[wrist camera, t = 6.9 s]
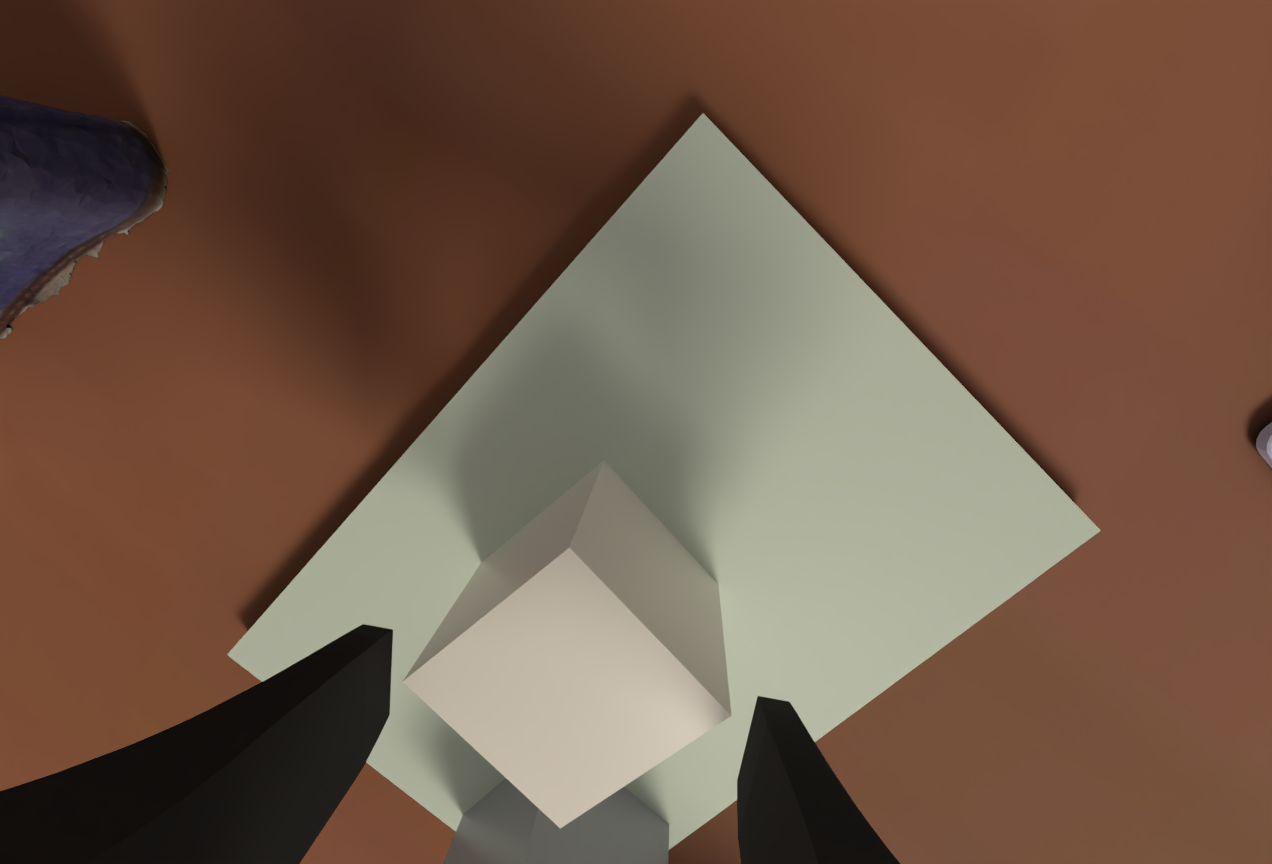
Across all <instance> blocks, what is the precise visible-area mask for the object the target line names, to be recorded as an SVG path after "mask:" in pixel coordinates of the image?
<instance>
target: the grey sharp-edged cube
mask: <svg viewBox="0 0 1272 864" xmlns="http://www.w3.org/2000/svg"><path fill="white" fill-rule="evenodd" d="M668 852H669V824H668V823H667V822H666V821H665V820H664V819H662V818H661V817H660V816H659V815H657V814H656V813H655V812H654V811H653V810H651V809H650V808H649V807H648V806H647V805H645V804H644V803H643V802H642V801H641V800H639V799H638V798H637V797H636V796H634V795H633V794H632V793H631V792H630V791H628V790H627V789H626V788H625V787H623V788H621V789H620V790H618V791H617V792H615V793H613V794H612V795H610V796H609V797H607V798H606V799H604V800H603V801H601V802H600V803H598V804H597V805H595V806H594V807H592V808H591V809H589V810H588V811H586V812H585V813H583V814H582V815H580V816H579V817H577V818H576V819H574V820H573V821H571V822H569V823H568V824H566V825H565V826H563V827H562V828H559V827H558V826H557V825H556V824H555V823H554V822H553V821H552V820H551V819H549V818H548V817H547V816H546V815H545V814H544V813H543V812H542V811H541V810H540V809H539V808H538V807H537V806H535V805H534V804H533V803H532V802H531V801H530V800H529V799H528V798H527V797H526V796H525V795H524V794H523V793H522V792H520V791H519V790H518V789H517V788H516V787H515V786H514V785H513V784H512V783H511V782H510V781H509V780H508V779H506V778H505V779H504V780H503V781H502V782H500V783H499V784H498V785H497V786H496V787H495V788H493V789H492V790H491V791H490V792H489V793H488V794H486V795H485V796H484V797H483V798H482V799H481V800H480V801H478V802H477V803H476V804H475V805H474V806H473V807H471V808H470V809H469V810H468V811H467V812H466V813H464V814H463V816H462V818H461V821H460V823H459V826H458V828H457V831H456V833H455V836H454V838H453V841H452V843H451V846H450V848H449V851H448V853H447V856H446V859H445V861H444V864H668Z"/></svg>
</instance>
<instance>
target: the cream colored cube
mask: <svg viewBox="0 0 1272 864" xmlns="http://www.w3.org/2000/svg"><path fill="white" fill-rule="evenodd" d="M403 683H404V684H405V685H407V686H408V687H409V688H410V689H411V690H412V691H413V692H414V693H415V694H416V695H417V696H418V697H419V698H421V699H422V700H423V701H424V702H425V703H426V704H427V705H428V706H429V707H430V708H431V709H432V710H433V711H434V712H436V713H437V714H438V715H439V716H440V717H441V718H442V719H443V720H444V721H445V722H446V723H447V724H448V725H450V726H451V727H452V728H453V729H454V730H455V731H456V732H457V733H458V734H459V735H460V736H461V737H462V738H463V739H465V740H466V741H467V742H468V743H469V744H470V745H471V746H472V747H473V748H474V749H475V750H476V751H477V752H479V753H480V754H481V755H482V756H483V757H484V758H485V759H486V760H487V761H488V762H489V763H490V764H491V765H492V766H494V767H495V768H496V769H497V770H498V771H499V772H500V773H501V774H502V775H503V776H504V777H505V778H506V779H508V780H509V781H510V782H511V783H512V784H513V785H514V786H515V787H516V788H517V789H518V790H519V791H520V792H522V793H523V794H524V795H525V796H526V797H527V798H528V799H529V800H530V801H531V802H532V803H533V804H534V805H535V806H537V807H538V808H539V809H540V810H541V811H542V812H543V813H544V814H545V815H546V816H547V817H548V818H549V819H551V820H552V821H553V822H554V823H555V824H556V825H557V826H558V827H559V828H562V827H563V826H565V825H566V824H568V823H569V822H571V821H573V820H574V819H576V818H577V817H579V816H580V815H582V814H583V813H585V812H586V811H588V810H589V809H591V808H592V807H594V806H595V805H597V804H598V803H600V802H601V801H603V800H604V799H606V798H607V797H609V796H610V795H612V794H613V793H615V792H617V791H618V790H620V789H621V788H623V787H624V786H626V785H627V784H629V783H630V782H632V781H633V780H635V779H636V778H638V777H639V776H641V775H642V774H644V773H645V772H647V771H648V770H650V769H651V768H653V767H654V766H656V765H657V764H659V763H660V762H662V761H664V760H665V759H667V758H668V757H670V756H671V755H673V754H674V753H676V752H677V751H679V750H680V749H682V748H683V747H685V746H686V745H688V744H689V743H691V742H692V741H694V740H695V739H697V738H698V737H700V736H701V735H703V734H704V733H706V732H708V731H709V730H711V729H712V728H714V727H715V726H717V725H718V724H720V723H721V722H723V721H724V720H726V719H727V718H729V717H730V716H731V706H730V696H729V685H728V675H727V665H726V655H725V645H724V635H723V625H722V615H721V605H720V595H719V584H718V583H717V582H716V581H715V580H714V579H713V578H712V577H711V576H710V574H709V573H708V572H707V571H706V570H705V569H704V568H703V567H702V566H701V565H700V564H699V563H698V561H697V560H696V559H695V558H694V557H693V556H692V555H691V554H690V553H689V552H688V551H687V550H686V548H685V547H684V546H683V545H682V544H681V543H680V542H679V541H678V540H677V539H676V538H675V537H674V535H673V534H672V533H671V532H670V531H669V530H668V529H667V528H666V527H665V526H664V525H663V524H662V522H661V521H660V520H659V519H658V518H657V517H656V516H655V515H654V514H653V513H652V512H651V511H650V509H649V508H648V507H647V506H646V505H645V504H644V503H643V502H642V501H641V500H640V499H639V498H638V496H637V495H636V494H635V493H634V492H633V491H632V490H631V489H630V488H629V487H628V486H627V485H626V483H625V482H624V481H623V480H622V479H621V478H620V477H619V476H618V475H617V474H616V473H615V472H614V470H613V469H612V468H611V467H610V466H609V465H608V464H607V463H606V462H605V461H602V462H601V463H600V464H599V465H598V466H596V467H595V468H594V469H593V470H592V471H590V472H589V473H588V474H587V475H586V476H584V477H583V478H582V479H581V480H580V481H578V482H577V483H576V484H575V485H574V486H572V487H571V488H570V489H569V490H568V491H566V492H565V493H564V494H563V495H562V496H560V497H559V498H558V499H557V500H556V501H554V502H553V503H552V504H551V505H550V506H548V507H547V508H546V509H545V510H544V511H542V512H541V513H540V514H539V515H538V516H536V517H535V518H534V519H533V520H532V521H530V522H529V523H528V524H527V525H526V526H524V527H523V528H522V529H521V530H520V531H518V532H517V533H516V534H515V535H514V536H512V537H511V538H510V539H509V540H508V541H506V542H505V543H504V544H503V545H502V546H500V547H499V548H498V549H497V550H496V551H495V552H493V553H492V554H491V555H490V556H489V557H487V558H486V559H485V560H484V561H483V562H481V564H480V565H479V567H478V568H477V570H476V571H475V573H474V574H473V576H472V577H471V579H470V580H469V582H468V583H467V585H466V586H465V588H464V589H463V591H462V593H461V594H460V596H459V597H458V599H457V600H456V602H455V603H454V605H453V606H452V608H451V609H450V611H449V612H448V614H447V615H446V617H445V618H444V620H443V621H442V623H441V624H440V626H439V627H438V629H437V630H436V632H435V633H434V635H433V636H432V638H431V639H430V641H429V642H428V644H427V645H426V647H425V648H424V650H423V651H422V653H421V654H420V656H419V658H418V659H417V661H416V662H415V664H414V665H413V667H412V668H411V670H410V671H409V673H408V674H407V676H406V677H405V679H404V680H403Z"/></svg>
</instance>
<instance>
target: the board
mask: <svg viewBox="0 0 1272 864" xmlns="http://www.w3.org/2000/svg"><path fill="white" fill-rule="evenodd" d="M602 461H605V462H606V463H607V464H608V465H609V466H610V467H611V468H612V469H613V470H614V472H615V473H616V474H617V475H618V476H619V477H620V478H621V479H622V480H623V481H624V482H625V483H626V485H627V486H628V487H629V488H630V489H631V490H632V491H633V492H634V493H635V494H636V495H637V496H638V498H639V499H640V500H641V501H642V502H643V503H644V504H645V505H646V506H647V507H648V508H649V509H650V511H651V512H652V513H653V514H654V515H655V516H656V517H657V518H658V519H659V520H660V521H661V522H662V524H663V525H664V526H665V527H666V528H667V529H668V530H669V531H670V532H671V533H672V534H673V535H674V537H675V538H676V539H677V540H678V541H679V542H680V543H681V544H682V545H683V546H684V547H685V548H686V550H687V551H688V552H689V553H690V554H691V555H692V556H693V557H694V558H695V559H696V560H697V561H698V563H699V564H700V565H701V566H702V567H703V568H704V569H705V570H706V571H707V572H708V573H709V574H710V576H711V577H712V578H713V579H714V580H715V581H716V582H717V583H718V584H719V595H720V605H721V615H722V625H723V635H724V645H725V655H726V665H727V675H728V685H729V696H730V706H731V716H730V717H729V718H727V719H726V720H724V721H723V722H721V723H720V724H718V725H717V726H715V727H714V728H712V729H711V730H709V731H708V732H706V733H704V734H703V735H701V736H700V737H698V738H697V739H695V740H694V741H692V742H691V743H689V744H688V745H686V746H685V747H683V748H682V749H680V750H679V751H677V752H676V753H674V754H673V755H671V756H670V757H668V758H667V759H665V760H664V761H662V762H660V763H659V764H657V765H656V766H654V767H653V768H651V769H650V770H648V771H647V772H645V773H644V774H642V775H641V776H639V777H638V778H636V779H635V780H633V781H632V782H630V783H629V784H627V785H626V786H624V787H625V788H626V789H627V790H628V791H630V792H631V793H632V794H633V795H634V796H636V797H637V798H638V799H639V800H641V801H642V802H643V803H644V804H645V805H647V806H648V807H649V808H650V809H651V810H653V811H654V812H655V813H656V814H657V815H659V816H660V817H661V818H662V819H664V820H665V821H666V822H667V823H668V824H669V850H670V849H671V848H672V847H674V846H675V845H676V844H678V843H679V842H680V841H682V840H683V839H684V838H686V837H687V836H689V835H690V834H691V833H693V832H694V831H695V830H697V829H698V828H699V827H701V826H702V825H703V824H705V823H706V822H707V821H709V820H710V819H711V818H713V817H714V816H716V815H717V814H718V813H720V812H721V811H722V810H724V809H725V808H726V807H728V806H729V805H730V804H732V803H733V802H734V801H736V800H737V779H738V775H739V771H740V767H741V763H742V759H743V754H744V750H745V746H746V742H747V738H748V734H749V730H750V726H751V722H752V717H753V713H754V709H755V705H756V701H757V697H758V696H761V697H767V698H772V699H778V700H783V701H789V702H790V703H791V705H792V706H793V707H794V709H795V711H796V712H797V714H798V716H799V717H800V719H801V721H802V722H803V724H804V726H805V727H806V729H807V731H808V732H809V734H810V735H811V737H812V739H813V740H814V742H816V741H817V740H818V739H820V738H821V737H822V736H824V735H825V734H826V733H828V732H829V731H830V730H832V729H833V728H834V727H836V726H837V725H839V724H840V723H841V722H843V721H844V720H845V719H847V718H848V717H849V716H851V715H852V714H853V713H855V712H856V711H857V710H859V709H860V708H861V707H863V706H864V705H866V704H867V703H868V702H870V701H871V700H872V699H874V698H875V697H876V696H878V695H879V694H880V693H882V692H883V691H884V690H886V689H887V688H889V687H890V686H891V685H893V684H894V683H895V682H897V681H898V680H899V679H901V678H902V677H903V676H905V675H906V674H907V673H909V672H910V671H911V670H913V669H914V668H916V667H917V666H918V665H920V664H921V663H922V662H924V661H925V660H926V659H928V658H929V657H930V656H932V655H933V654H934V653H936V652H937V651H939V650H940V649H941V648H943V647H944V646H945V645H947V644H948V643H949V642H951V641H952V640H953V639H955V638H956V637H957V636H959V635H960V634H961V633H963V632H964V631H966V630H967V629H968V628H970V627H971V626H972V625H974V624H975V623H976V622H978V621H979V620H980V619H982V618H983V617H984V616H986V615H987V614H989V613H990V612H991V611H993V610H994V609H995V608H997V607H998V606H999V605H1001V604H1002V603H1003V602H1005V601H1006V600H1007V599H1009V598H1010V597H1011V596H1013V595H1014V594H1016V593H1017V592H1018V591H1020V590H1021V589H1022V588H1024V587H1025V586H1026V585H1028V584H1029V583H1030V582H1032V581H1033V580H1034V579H1036V578H1037V577H1039V576H1040V575H1041V574H1043V573H1044V572H1045V571H1047V570H1048V569H1049V568H1051V567H1052V566H1053V565H1055V564H1056V563H1057V562H1059V561H1060V560H1061V559H1063V558H1064V557H1066V556H1067V555H1068V554H1070V553H1071V552H1072V551H1074V550H1075V549H1076V548H1078V547H1079V546H1080V545H1082V544H1083V543H1084V542H1086V541H1087V540H1089V539H1090V538H1091V537H1093V536H1094V535H1095V534H1097V533H1098V532H1099V531H1101V530H1100V529H1099V528H1098V527H1097V526H1096V525H1095V524H1094V523H1093V522H1092V521H1091V520H1090V519H1089V518H1088V517H1087V516H1086V515H1085V514H1084V513H1083V512H1082V510H1081V509H1080V508H1079V507H1078V506H1077V505H1076V504H1075V503H1074V502H1073V501H1072V500H1071V499H1070V498H1069V497H1068V496H1067V495H1066V494H1065V493H1064V492H1063V491H1062V489H1061V488H1060V487H1059V486H1058V485H1057V484H1056V483H1055V482H1054V481H1053V480H1052V479H1051V478H1050V477H1049V476H1048V475H1047V474H1046V473H1045V472H1044V471H1043V470H1042V468H1041V467H1040V466H1039V465H1038V464H1037V463H1036V462H1035V461H1034V460H1033V459H1032V458H1031V457H1030V456H1029V455H1028V454H1027V453H1026V452H1025V451H1024V450H1023V449H1022V447H1021V446H1020V445H1019V444H1018V443H1017V442H1016V441H1015V440H1014V439H1013V438H1012V437H1011V436H1010V435H1009V434H1008V433H1007V432H1006V431H1005V430H1004V429H1003V427H1002V426H1001V425H1000V424H999V423H998V422H997V421H996V420H995V419H994V418H993V417H992V416H991V415H990V414H989V413H988V412H987V411H986V410H985V409H984V408H983V406H982V405H981V404H980V403H979V402H978V401H977V400H976V399H975V398H974V397H973V396H972V395H971V394H970V393H969V392H968V391H967V390H966V389H965V388H964V387H963V385H962V384H961V383H960V382H959V381H958V380H957V379H956V378H955V377H954V376H953V375H952V374H951V373H950V372H949V371H948V370H947V369H946V368H945V367H944V365H943V364H942V363H941V362H940V361H939V360H938V359H937V358H936V357H935V356H934V355H933V354H932V353H931V352H930V351H929V350H928V349H927V348H926V347H925V346H924V344H923V343H922V342H921V341H920V340H919V339H918V338H917V337H916V336H915V335H914V334H913V333H912V332H911V331H910V330H909V329H908V328H907V327H906V326H905V325H904V323H903V322H902V321H901V320H900V319H899V318H898V317H897V316H896V315H895V314H894V313H893V312H892V311H891V310H890V309H889V308H888V307H887V306H886V305H885V303H884V302H883V301H882V300H881V299H880V298H879V297H878V296H877V295H876V294H875V293H874V292H873V291H872V290H871V289H870V288H869V287H868V286H867V285H866V284H865V282H864V281H863V280H862V279H861V278H860V277H859V276H858V275H857V274H856V273H855V272H854V271H853V270H852V269H851V268H850V267H849V266H848V265H847V264H846V263H845V261H844V260H843V259H842V258H841V257H840V256H839V255H838V254H837V253H836V252H835V251H834V250H833V249H832V248H831V247H830V246H829V245H828V244H827V243H826V241H825V240H824V239H823V238H822V237H821V236H820V235H819V234H818V233H817V232H816V231H815V230H814V229H813V228H812V227H811V226H810V225H809V224H808V223H807V222H806V220H805V219H804V218H803V217H802V216H801V215H800V214H799V213H798V212H797V211H796V210H795V209H794V208H793V207H792V206H791V205H790V204H789V203H788V202H787V201H786V199H785V198H784V197H783V196H782V195H781V194H780V193H779V192H778V191H777V190H776V189H775V188H774V187H773V186H772V185H771V184H770V183H769V182H768V181H767V179H766V178H765V177H764V176H763V175H762V174H761V173H760V172H759V171H758V170H757V169H756V168H755V167H754V166H753V165H752V164H751V163H750V162H749V161H748V160H747V158H746V157H745V156H744V155H743V154H742V153H741V152H740V151H739V150H738V149H737V148H736V147H735V146H734V145H733V144H732V143H731V142H730V141H729V140H728V139H727V137H726V136H725V135H724V134H723V133H722V132H721V131H720V130H719V129H718V128H717V127H716V126H715V125H714V124H713V123H712V122H711V121H710V120H709V119H708V117H707V116H706V115H705V114H704V113H702V115H701V116H700V117H699V118H698V119H697V120H696V121H695V123H694V124H693V125H692V126H691V127H690V128H689V129H688V131H687V132H686V133H685V134H684V135H683V136H682V137H681V139H680V140H679V141H678V142H677V143H676V144H675V145H674V146H673V148H672V149H671V150H670V151H669V152H668V153H667V154H666V156H665V157H664V158H663V159H662V160H661V161H660V162H659V164H658V165H657V166H656V167H655V168H654V169H653V170H652V172H651V173H650V174H649V175H648V176H647V177H646V178H645V180H644V181H643V182H642V183H641V184H640V185H639V186H638V187H637V189H636V190H635V191H634V192H633V193H632V194H631V195H630V197H629V198H628V199H627V200H626V201H625V202H624V203H623V205H622V206H621V207H620V208H619V209H618V210H617V211H616V213H615V214H614V215H613V216H612V217H611V218H610V219H609V221H608V222H607V223H606V224H605V225H604V226H603V227H602V228H601V230H600V231H599V232H598V233H597V234H596V235H595V236H594V238H593V239H592V240H591V241H590V242H589V243H588V244H587V246H586V247H585V248H584V249H583V250H582V251H581V252H580V254H579V255H578V256H577V257H576V258H575V259H574V260H573V261H572V263H571V264H570V265H569V266H568V267H567V268H566V269H565V271H564V272H563V273H562V274H561V275H560V276H559V277H558V279H557V280H556V281H555V282H554V283H553V284H552V285H551V287H550V288H549V289H548V290H547V291H546V292H545V293H544V295H543V296H542V297H541V298H540V299H539V300H538V301H537V302H536V304H535V305H534V306H533V307H532V308H531V309H530V310H529V312H528V313H527V314H526V315H525V316H524V317H523V318H522V320H521V321H520V322H519V323H518V324H517V325H516V326H515V328H514V329H513V330H512V331H511V332H510V333H509V334H508V336H507V337H506V338H505V339H504V340H503V341H502V342H501V343H500V345H499V346H498V347H497V348H496V349H495V350H494V351H493V353H492V354H491V355H490V356H489V357H488V358H487V359H486V361H485V362H484V363H483V364H482V365H481V366H480V367H479V369H478V370H477V371H476V372H475V373H474V374H473V375H472V377H471V378H470V379H469V380H468V381H467V382H466V383H465V384H464V386H463V387H462V388H461V389H460V390H459V391H458V392H457V394H456V395H455V396H454V397H453V398H452V399H451V400H450V402H449V403H448V404H447V405H446V406H445V407H444V408H443V410H442V411H441V412H440V413H439V414H438V415H437V416H436V417H435V419H434V420H433V421H432V422H431V423H430V424H429V425H428V427H427V428H426V429H425V430H424V431H423V432H422V433H421V435H420V436H419V437H418V438H417V439H416V440H415V441H414V443H413V444H412V445H411V446H410V447H409V448H408V449H407V451H406V452H405V453H404V454H403V455H402V456H401V457H400V458H399V460H398V461H397V462H396V463H395V464H394V465H393V466H392V468H391V469H390V470H389V471H388V472H387V473H386V474H385V476H384V477H383V478H382V479H381V480H380V481H379V482H378V484H377V485H376V486H375V487H374V488H373V489H372V490H371V492H370V493H369V494H368V495H367V496H366V497H365V498H364V499H363V501H362V502H361V503H360V504H359V505H358V506H357V507H356V509H355V510H354V511H353V512H352V513H351V514H350V515H349V517H348V518H347V519H346V520H345V521H344V522H343V523H342V525H341V526H340V527H339V528H338V529H337V530H336V531H335V533H334V534H333V535H332V536H331V537H330V538H329V539H328V540H327V542H326V543H325V544H324V545H323V546H322V547H321V548H320V550H319V551H318V552H317V553H316V554H315V555H314V556H313V558H312V559H311V560H310V561H309V562H308V563H307V564H306V566H305V567H304V568H303V569H302V570H301V571H300V572H299V573H298V575H297V576H296V577H295V578H294V579H293V580H292V581H291V583H290V584H289V585H288V586H287V587H286V588H285V589H284V591H283V592H282V593H281V594H280V595H279V596H278V597H277V599H276V600H275V601H274V602H273V603H272V604H271V605H270V607H269V608H268V609H267V610H266V611H265V612H264V613H263V614H262V616H261V617H260V618H259V619H258V620H257V621H256V622H255V624H254V625H253V626H252V627H251V628H250V629H249V630H248V632H247V633H246V634H245V635H244V636H243V637H242V638H241V640H240V641H239V642H238V643H237V644H236V645H235V646H234V648H233V649H232V650H231V651H230V652H229V653H228V654H227V655H228V656H229V657H231V658H232V659H233V660H234V661H236V662H237V663H238V664H240V665H241V666H242V667H244V668H245V669H246V670H247V671H249V672H250V673H251V674H253V675H254V676H255V677H256V678H258V679H259V680H260V681H262V682H263V681H265V680H267V679H269V678H270V677H272V676H274V675H276V674H277V673H279V672H281V671H283V670H284V669H286V668H288V667H290V666H291V665H293V664H295V663H296V662H298V661H300V660H302V659H303V658H305V657H307V656H309V655H310V654H312V653H314V652H315V651H317V650H319V649H321V648H322V647H324V646H326V645H327V644H329V643H331V642H332V641H334V640H336V639H337V638H339V637H341V636H343V635H344V634H346V633H348V632H350V631H351V630H353V629H355V628H357V627H359V626H361V625H362V624H365V625H371V626H376V627H382V628H387V629H393V643H392V667H391V691H390V715H389V717H388V719H387V721H386V723H385V726H384V728H383V730H382V732H381V734H380V736H379V738H378V740H377V742H376V744H375V746H374V748H373V749H372V751H371V753H370V755H369V757H368V759H367V761H366V763H368V764H369V765H370V766H372V767H373V768H374V769H375V770H377V771H378V772H379V773H381V774H382V775H383V776H384V777H386V778H387V779H388V780H390V781H391V782H392V783H394V784H395V785H396V786H397V787H399V788H400V789H401V790H403V791H404V792H405V793H406V794H408V795H409V796H410V797H412V798H413V799H414V800H416V801H417V802H418V803H419V804H421V805H422V806H423V807H425V808H426V809H427V810H428V811H430V812H431V813H432V814H434V815H435V816H436V817H438V818H439V819H440V820H441V821H443V822H444V823H445V824H447V825H448V826H449V827H450V828H452V829H453V830H454V831H457V828H458V826H459V823H460V821H461V818H462V816H463V814H464V813H466V812H467V811H468V810H469V809H470V808H471V807H473V806H474V805H475V804H476V803H477V802H478V801H480V800H481V799H482V798H483V797H484V796H485V795H486V794H488V793H489V792H490V791H491V790H492V789H493V788H495V787H496V786H497V785H498V784H499V783H500V782H502V781H503V780H504V779H505V777H504V776H503V775H502V774H501V773H500V772H499V771H498V770H497V769H496V768H495V767H494V766H492V765H491V764H490V763H489V762H488V761H487V760H486V759H485V758H484V757H483V756H482V755H481V754H480V753H479V752H477V751H476V750H475V749H474V748H473V747H472V746H471V745H470V744H469V743H468V742H467V741H466V740H465V739H463V738H462V737H461V736H460V735H459V734H458V733H457V732H456V731H455V730H454V729H453V728H452V727H451V726H450V725H448V724H447V723H446V722H445V721H444V720H443V719H442V718H441V717H440V716H439V715H438V714H437V713H436V712H434V711H433V710H432V709H431V708H430V707H429V706H428V705H427V704H426V703H425V702H424V701H423V700H422V699H421V698H419V697H418V696H417V695H416V694H415V693H414V692H413V691H412V690H411V689H410V688H409V687H408V686H407V685H405V684H404V683H403V680H404V679H405V677H406V676H407V674H408V673H409V671H410V670H411V668H412V667H413V665H414V664H415V662H416V661H417V659H418V658H419V656H420V654H421V653H422V651H423V650H424V648H425V647H426V645H427V644H428V642H429V641H430V639H431V638H432V636H433V635H434V633H435V632H436V630H437V629H438V627H439V626H440V624H441V623H442V621H443V620H444V618H445V617H446V615H447V614H448V612H449V611H450V609H451V608H452V606H453V605H454V603H455V602H456V600H457V599H458V597H459V596H460V594H461V593H462V591H463V589H464V588H465V586H466V585H467V583H468V582H469V580H470V579H471V577H472V576H473V574H474V573H475V571H476V570H477V568H478V567H479V565H480V564H481V562H483V561H484V560H485V559H486V558H487V557H489V556H490V555H491V554H492V553H493V552H495V551H496V550H497V549H498V548H499V547H500V546H502V545H503V544H504V543H505V542H506V541H508V540H509V539H510V538H511V537H512V536H514V535H515V534H516V533H517V532H518V531H520V530H521V529H522V528H523V527H524V526H526V525H527V524H528V523H529V522H530V521H532V520H533V519H534V518H535V517H536V516H538V515H539V514H540V513H541V512H542V511H544V510H545V509H546V508H547V507H548V506H550V505H551V504H552V503H553V502H554V501H556V500H557V499H558V498H559V497H560V496H562V495H563V494H564V493H565V492H566V491H568V490H569V489H570V488H571V487H572V486H574V485H575V484H576V483H577V482H578V481H580V480H581V479H582V478H583V477H584V476H586V475H587V474H588V473H589V472H590V471H592V470H593V469H594V468H595V467H596V466H598V465H599V464H600V463H601V462H602Z"/></svg>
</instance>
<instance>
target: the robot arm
mask: <svg viewBox="0 0 1272 864" xmlns="http://www.w3.org/2000/svg"><path fill="white" fill-rule="evenodd" d="M1256 448H1257V450H1258V452H1259V454H1260V455H1261V456H1262V457H1263V459H1264V460H1265V461H1266V462H1267V463H1268V464H1269V465H1270V467H1271V468H1272V422H1271V423H1270V424H1268V425H1267V426H1266V427H1265V428H1264V429H1263V430H1262V431H1261V432H1260V433H1259V435H1258V437H1257V439H1256ZM392 643H393V629H387V628H382V627H376V626H371V625H365V624H362V625H361V626H359V627H357V628H355V629H353V630H351V631H350V632H348V633H346V634H344V635H343V636H341V637H339V638H337V639H336V640H334V641H332V642H331V643H329V644H327V645H326V646H324V647H322V648H321V649H319V650H317V651H315V652H314V653H312V654H310V655H309V656H307V657H305V658H303V659H302V660H300V661H298V662H296V663H295V664H293V665H291V666H290V667H288V668H286V669H284V670H283V671H281V672H279V673H277V674H276V675H274V676H272V677H270V678H269V679H267V680H265V681H263V682H261V683H259V684H257V685H255V686H254V687H252V688H250V689H248V690H246V691H244V692H242V693H240V694H238V695H236V696H234V697H233V698H231V699H229V700H227V701H225V702H223V703H221V704H219V705H217V706H215V707H213V708H211V709H210V710H208V711H205V712H203V713H201V714H199V715H197V716H195V717H193V718H191V719H189V720H187V721H184V722H182V723H180V724H178V725H176V726H174V727H171V728H169V729H167V730H164V731H162V732H160V733H158V734H155V735H153V736H151V737H148V738H146V739H144V740H142V741H139V742H137V743H134V744H132V745H129V746H127V747H124V748H122V749H119V750H116V751H114V752H111V753H108V754H106V755H103V756H100V757H98V758H95V759H92V760H90V761H87V762H85V763H82V764H79V765H77V766H74V767H71V768H69V769H66V770H63V771H61V772H58V773H55V774H52V775H49V776H46V777H43V778H40V779H37V780H34V781H31V782H28V783H25V784H22V785H19V786H16V787H13V788H10V789H6V790H3V791H0V864H299V863H300V862H301V860H302V859H303V857H304V856H305V854H306V853H307V851H308V850H309V848H310V847H311V845H312V844H313V842H314V841H315V839H316V838H317V836H318V835H319V833H320V832H321V830H322V829H323V827H324V826H325V824H326V823H327V821H328V820H329V818H330V817H331V815H332V814H333V812H334V811H335V809H336V808H337V806H338V805H339V803H340V802H341V800H342V799H343V797H344V796H345V794H346V793H347V791H348V790H349V788H350V787H351V785H352V784H353V782H354V780H355V779H356V777H357V776H358V774H359V773H360V771H361V770H362V768H363V767H364V765H365V763H366V761H367V759H368V757H369V755H370V753H371V751H372V749H373V748H374V746H375V744H376V742H377V740H378V738H379V736H380V734H381V732H382V730H383V728H384V726H385V723H386V721H387V719H388V717H389V715H390V691H391V667H392ZM737 812H738V840H739V848H740V857H741V864H900V863H899V862H898V861H897V859H896V858H895V857H894V856H893V854H892V853H891V852H890V851H889V849H888V848H887V847H886V846H885V844H884V843H883V842H882V840H881V839H880V838H879V836H878V835H877V834H876V832H875V831H874V830H873V828H872V827H871V826H870V824H869V823H868V822H867V820H866V819H865V818H864V816H863V815H862V813H861V812H860V810H859V809H858V808H857V806H856V805H855V803H854V802H853V800H852V799H851V797H850V796H849V794H848V793H847V792H846V790H845V789H844V787H843V786H842V784H841V783H840V781H839V780H838V778H837V777H836V775H835V774H834V772H833V771H832V769H831V767H830V766H829V764H828V763H827V761H826V760H825V758H824V756H823V755H822V753H821V752H820V750H819V748H818V747H817V745H816V744H815V742H814V740H813V739H812V737H811V735H810V734H809V732H808V731H807V729H806V727H805V726H804V724H803V722H802V721H801V719H800V717H799V716H798V714H797V712H796V711H795V709H794V707H793V706H792V705H791V703H790V702H789V701H783V700H778V699H772V698H767V697H761V696H758V697H757V701H756V705H755V709H754V713H753V717H752V722H751V726H750V730H749V734H748V738H747V742H746V746H745V750H744V754H743V759H742V763H741V767H740V771H739V775H738V779H737Z"/></svg>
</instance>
